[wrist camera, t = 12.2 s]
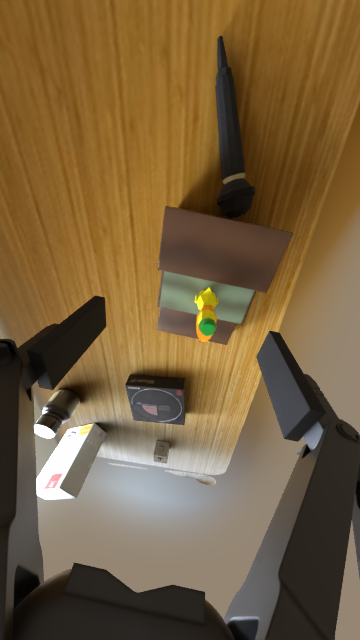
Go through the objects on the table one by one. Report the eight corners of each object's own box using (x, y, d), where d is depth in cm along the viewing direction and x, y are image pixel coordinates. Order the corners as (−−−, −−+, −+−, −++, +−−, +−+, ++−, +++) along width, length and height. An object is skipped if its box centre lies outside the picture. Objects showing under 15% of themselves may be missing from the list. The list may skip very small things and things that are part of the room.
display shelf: (177, 207, 33) (165, 206, 23) (265, 226, 33) (293, 232, 23) (160, 321, 45) (147, 353, 35) (225, 334, 45) (231, 371, 35)
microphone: (206, 68, 27) (224, 221, 34) (191, 36, 22) (215, 221, 29) (246, 40, 24) (257, 212, 31) (238, -3, 20) (253, 211, 27)
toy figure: (213, 314, 34) (217, 360, 24) (193, 312, 34) (188, 357, 24) (219, 278, 30) (226, 313, 20) (197, 276, 31) (193, 309, 20)
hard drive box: (94, 421, 72) (60, 488, 54) (107, 432, 74) (78, 498, 57) (67, 429, 77) (27, 491, 60) (80, 439, 80) (46, 501, 62)
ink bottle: (54, 384, 63) (24, 418, 53) (79, 390, 63) (55, 425, 53) (58, 402, 68) (32, 437, 58) (82, 408, 68) (60, 443, 58)
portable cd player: (137, 410, 65) (134, 421, 61) (130, 374, 56) (125, 385, 53) (185, 414, 63) (184, 426, 59) (184, 378, 54) (183, 389, 51)
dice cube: (169, 442, 73) (167, 456, 69) (169, 448, 75) (166, 463, 71) (156, 440, 73) (153, 454, 69) (156, 447, 76) (153, 461, 71)
